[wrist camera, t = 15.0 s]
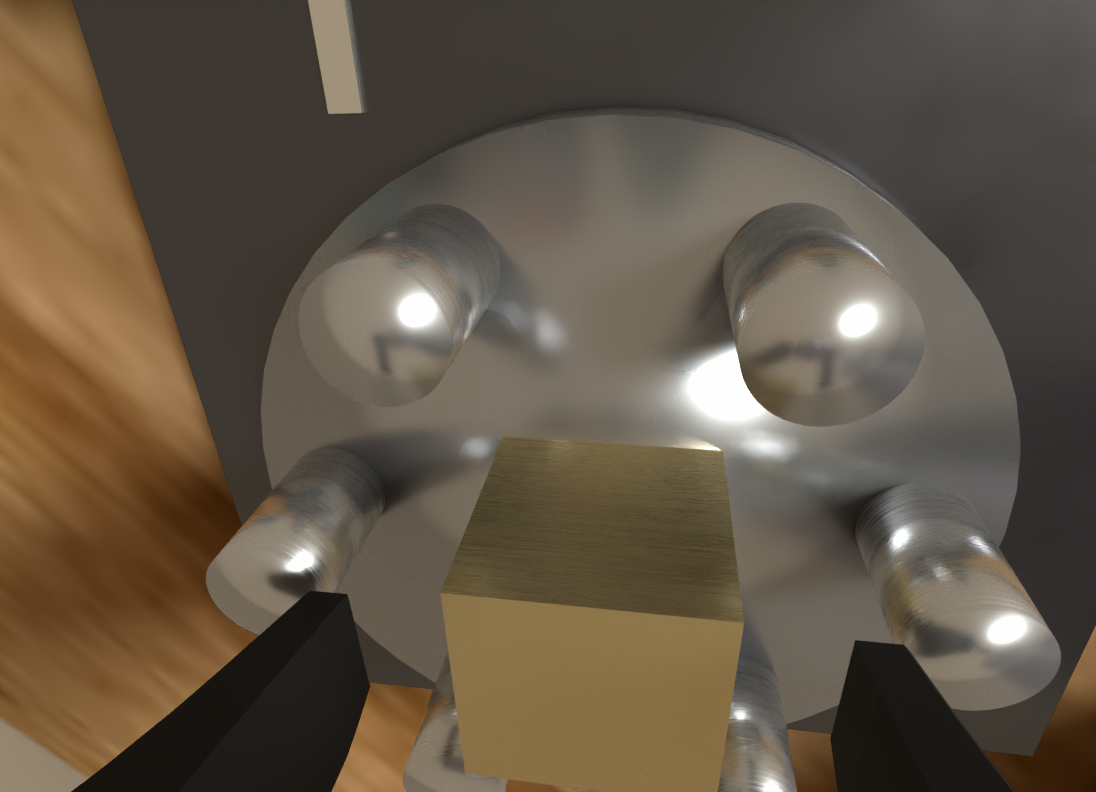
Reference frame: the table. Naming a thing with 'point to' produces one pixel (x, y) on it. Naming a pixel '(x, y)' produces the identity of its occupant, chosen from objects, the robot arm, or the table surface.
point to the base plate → (653, 82)
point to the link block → (596, 617)
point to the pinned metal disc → (651, 407)
